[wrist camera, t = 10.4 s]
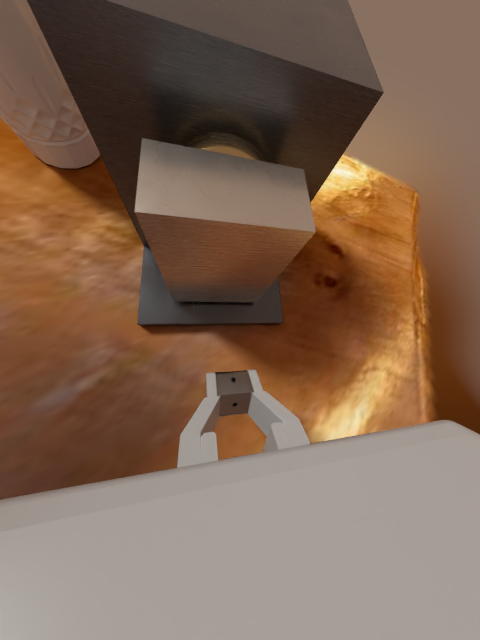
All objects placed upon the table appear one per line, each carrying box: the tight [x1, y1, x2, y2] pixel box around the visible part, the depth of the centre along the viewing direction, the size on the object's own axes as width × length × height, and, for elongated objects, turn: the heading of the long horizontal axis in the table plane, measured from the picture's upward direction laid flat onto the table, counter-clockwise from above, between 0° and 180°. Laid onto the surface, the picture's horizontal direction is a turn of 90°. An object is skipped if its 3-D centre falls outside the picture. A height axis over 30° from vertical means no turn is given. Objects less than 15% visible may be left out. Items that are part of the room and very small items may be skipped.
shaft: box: [134, 132, 316, 302], centre depth 15 cm, size 22×8×10 cm, turn 3°
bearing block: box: [27, 0, 384, 327], centre depth 14 cm, size 19×14×14 cm
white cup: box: [0, 0, 100, 168], centre depth 15 cm, size 8×8×10 cm
